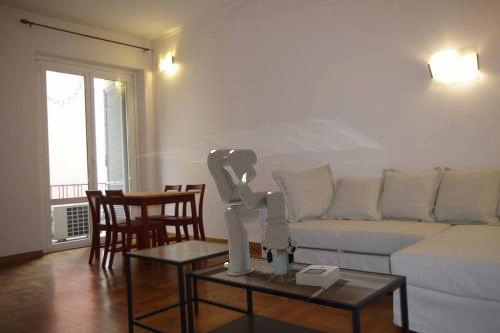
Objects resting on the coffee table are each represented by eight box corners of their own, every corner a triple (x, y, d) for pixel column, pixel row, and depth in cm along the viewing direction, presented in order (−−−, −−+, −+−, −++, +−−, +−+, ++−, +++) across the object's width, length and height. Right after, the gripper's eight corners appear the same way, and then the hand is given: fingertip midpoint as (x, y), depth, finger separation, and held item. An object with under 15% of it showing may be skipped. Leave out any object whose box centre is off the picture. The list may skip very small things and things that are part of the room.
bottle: (292, 273, 173) (290, 239, 174) (276, 274, 175) (274, 240, 175) (293, 270, 180) (291, 237, 181) (278, 270, 181) (276, 238, 182)
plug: (274, 280, 160) (272, 256, 160) (278, 278, 163) (277, 254, 164) (282, 281, 158) (281, 256, 158) (287, 278, 161) (285, 254, 162)
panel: (296, 286, 152) (295, 273, 153) (312, 276, 166) (311, 264, 166) (325, 289, 146) (324, 275, 146) (340, 278, 160) (339, 265, 160)
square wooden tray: (265, 283, 160) (265, 275, 160) (274, 278, 167) (274, 270, 167) (287, 285, 155) (286, 276, 155) (296, 280, 161) (295, 272, 161)
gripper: (254, 222, 163) (258, 264, 162) (291, 221, 154) (295, 265, 153) (263, 220, 169) (267, 260, 168) (299, 219, 160) (303, 261, 159)
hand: (280, 262), depth 160 cm, fingers open, 9 cm apart
